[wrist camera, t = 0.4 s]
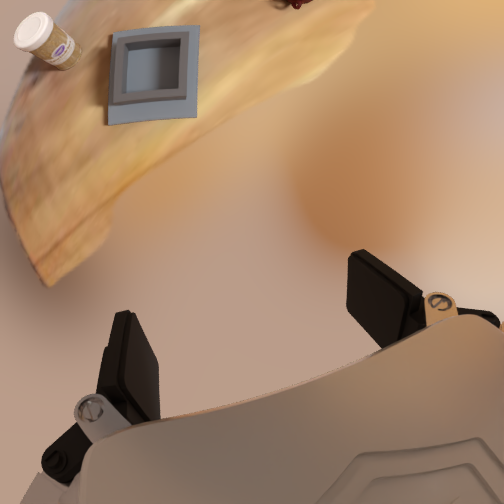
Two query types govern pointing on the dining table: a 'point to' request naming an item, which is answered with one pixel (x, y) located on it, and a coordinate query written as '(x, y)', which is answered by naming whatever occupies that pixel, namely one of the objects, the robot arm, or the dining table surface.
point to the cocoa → (299, 1)
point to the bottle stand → (153, 74)
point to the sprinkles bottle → (47, 41)
